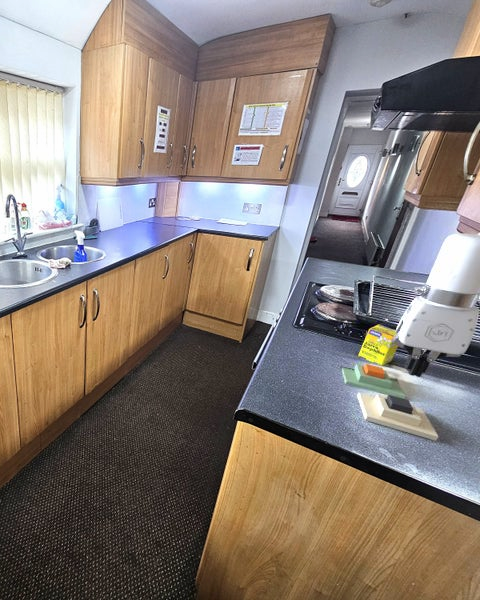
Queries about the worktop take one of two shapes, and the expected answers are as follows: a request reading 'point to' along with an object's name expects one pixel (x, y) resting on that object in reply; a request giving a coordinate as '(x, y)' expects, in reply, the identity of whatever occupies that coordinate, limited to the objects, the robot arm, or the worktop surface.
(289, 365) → the worktop surface
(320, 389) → the worktop surface
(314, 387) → the worktop surface
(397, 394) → the green flat stepped block
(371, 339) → the supplement box
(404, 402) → the key
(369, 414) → the cream flat stepped block
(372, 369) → the key
